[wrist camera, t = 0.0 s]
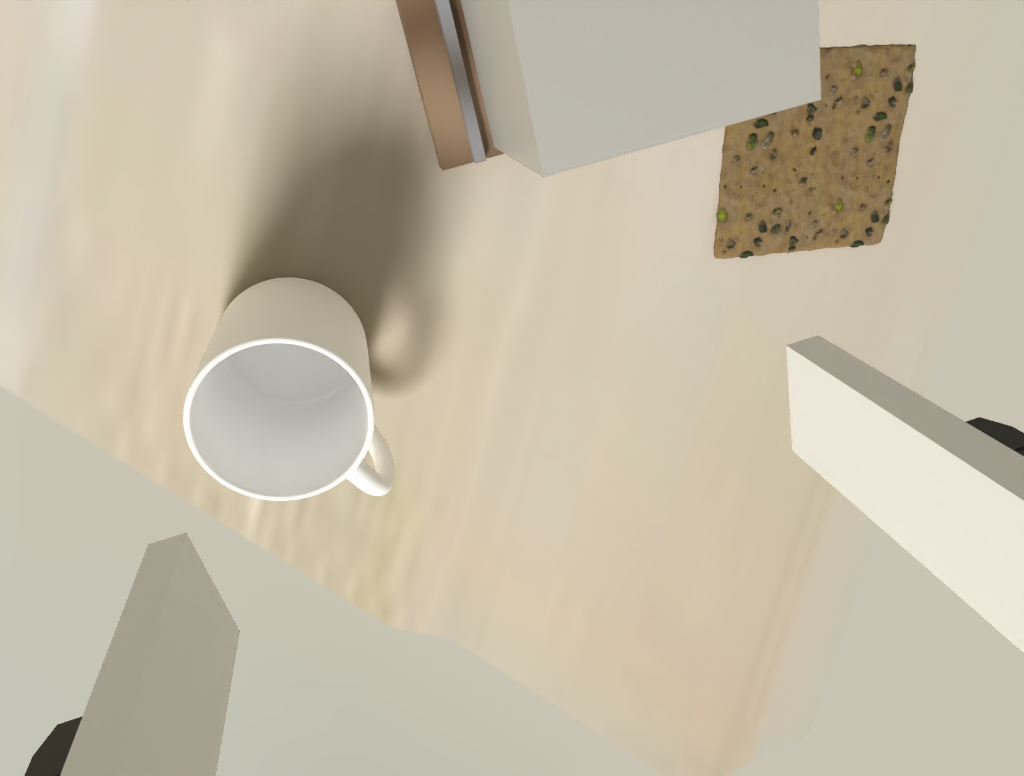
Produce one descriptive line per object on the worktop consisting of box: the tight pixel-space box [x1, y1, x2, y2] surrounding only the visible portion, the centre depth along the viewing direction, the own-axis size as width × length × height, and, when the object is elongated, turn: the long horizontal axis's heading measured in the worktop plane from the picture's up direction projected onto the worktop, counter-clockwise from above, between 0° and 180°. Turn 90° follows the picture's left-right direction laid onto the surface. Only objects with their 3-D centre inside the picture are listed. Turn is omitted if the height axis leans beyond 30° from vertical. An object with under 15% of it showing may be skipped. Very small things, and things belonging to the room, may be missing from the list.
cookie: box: [714, 44, 916, 259], centre depth 44 cm, size 12×12×1 cm
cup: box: [183, 277, 395, 501], centre depth 38 cm, size 8×12×10 cm
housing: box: [461, 0, 821, 177], centre depth 32 cm, size 10×12×10 cm
